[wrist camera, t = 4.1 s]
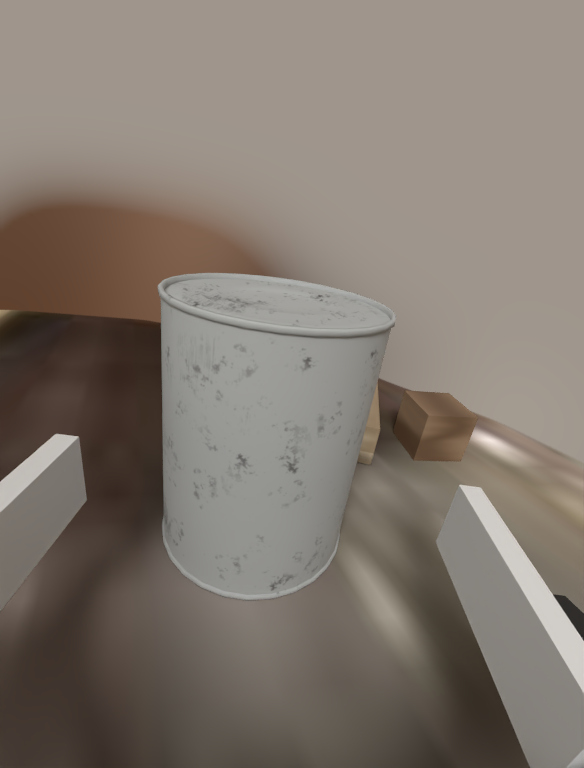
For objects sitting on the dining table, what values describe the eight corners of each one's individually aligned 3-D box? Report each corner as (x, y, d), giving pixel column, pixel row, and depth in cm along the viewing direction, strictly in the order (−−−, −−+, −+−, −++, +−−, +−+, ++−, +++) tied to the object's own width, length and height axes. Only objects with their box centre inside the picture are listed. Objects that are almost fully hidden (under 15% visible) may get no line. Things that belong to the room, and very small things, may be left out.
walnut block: (413, 461, 27) (428, 415, 26) (392, 432, 31) (404, 390, 29) (460, 462, 28) (478, 417, 27) (434, 434, 32) (449, 393, 30)
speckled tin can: (185, 458, 24) (189, 265, 19) (327, 470, 25) (366, 289, 20) (133, 595, 15) (114, 305, 10) (354, 606, 16) (436, 345, 11)
